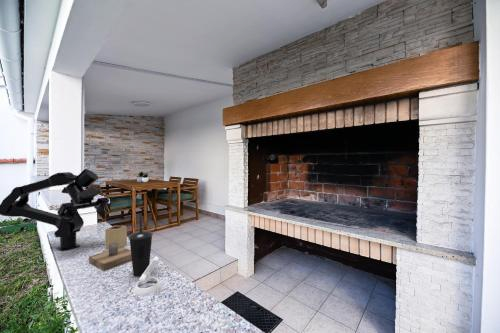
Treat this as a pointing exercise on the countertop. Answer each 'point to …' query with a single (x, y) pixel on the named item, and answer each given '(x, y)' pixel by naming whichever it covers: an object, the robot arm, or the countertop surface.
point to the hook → (148, 280)
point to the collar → (116, 236)
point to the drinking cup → (140, 250)
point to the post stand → (111, 257)
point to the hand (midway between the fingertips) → (94, 220)
